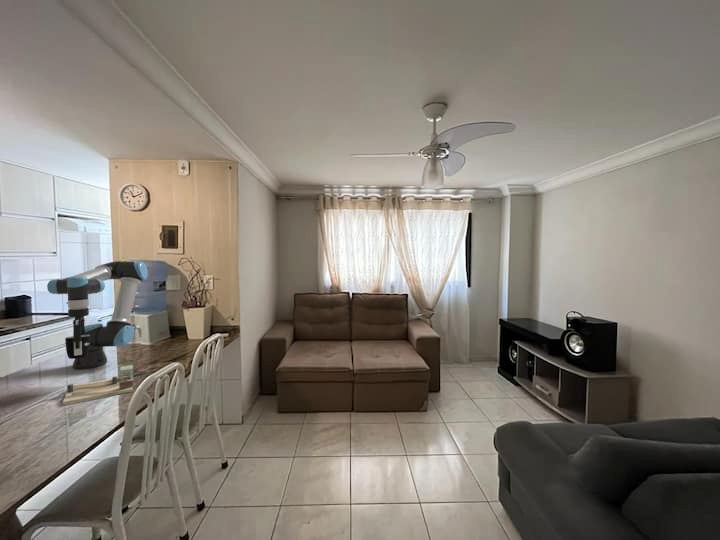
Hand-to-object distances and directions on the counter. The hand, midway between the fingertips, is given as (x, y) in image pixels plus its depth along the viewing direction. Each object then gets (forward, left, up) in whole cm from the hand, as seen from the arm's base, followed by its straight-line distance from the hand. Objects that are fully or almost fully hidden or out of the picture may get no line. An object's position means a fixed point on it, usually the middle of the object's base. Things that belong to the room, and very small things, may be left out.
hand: (79, 351), depth 154 cm
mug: (+1, 0, -2) cm, 2 cm away
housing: (+9, +18, -14) cm, 25 cm away
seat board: (+16, +9, -16) cm, 24 cm away
